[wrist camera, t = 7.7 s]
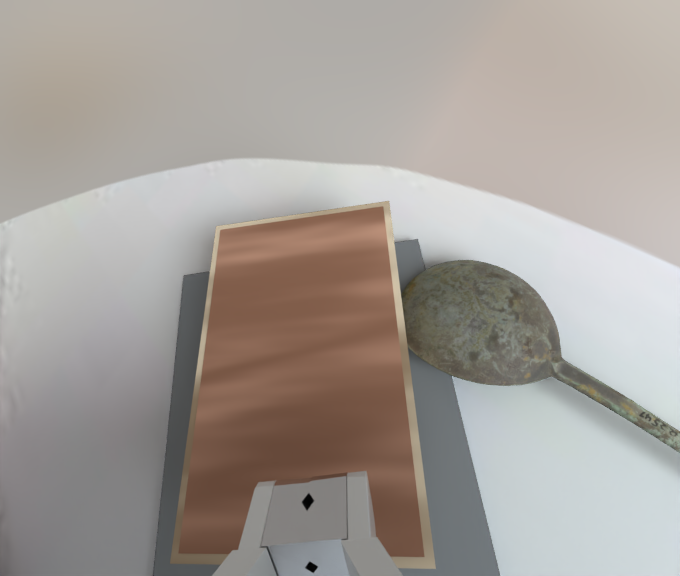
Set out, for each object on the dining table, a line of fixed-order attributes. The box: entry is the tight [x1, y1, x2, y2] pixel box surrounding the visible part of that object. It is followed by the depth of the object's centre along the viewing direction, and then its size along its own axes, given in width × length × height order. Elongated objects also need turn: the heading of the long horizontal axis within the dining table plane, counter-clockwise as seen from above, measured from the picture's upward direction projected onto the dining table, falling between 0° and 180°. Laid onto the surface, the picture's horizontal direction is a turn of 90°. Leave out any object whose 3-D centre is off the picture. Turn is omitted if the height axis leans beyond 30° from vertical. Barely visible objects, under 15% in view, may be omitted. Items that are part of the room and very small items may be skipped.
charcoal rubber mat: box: [153, 239, 500, 576], centre depth 16 cm, size 20×15×1 cm
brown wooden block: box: [170, 201, 436, 569], centre depth 15 cm, size 4×9×14 cm
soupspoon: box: [401, 260, 680, 452], centre depth 14 cm, size 22×3×7 cm
